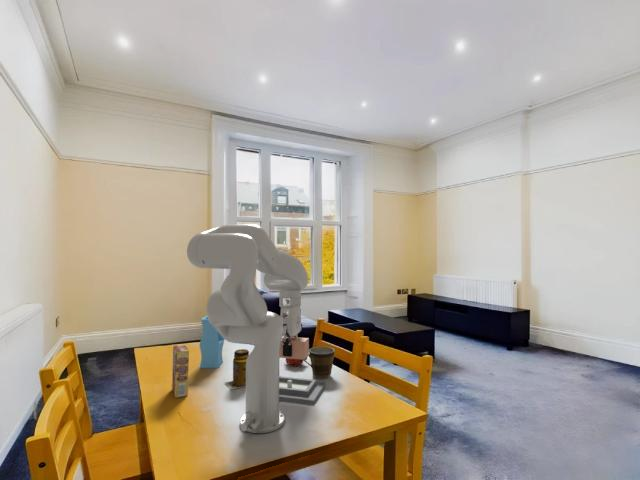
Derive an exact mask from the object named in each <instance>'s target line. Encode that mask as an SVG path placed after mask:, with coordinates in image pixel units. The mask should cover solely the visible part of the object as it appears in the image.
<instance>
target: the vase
mask: <svg viewBox="0 0 640 480" xmlns="http://www.w3.org/2000/svg"><path fill="white" fill-rule="evenodd" d="M200 321H201V326H202V327H201V328H202V335H201V339H200V341H199V350H200V355H201V356H200V357H201V358H200V359H201V360H200V364H199V369H218V368H220V367H221V365H223V363H224V361H223V347H224V342H225V339H224V338H223V337H222V336H221V335H220V334H219V332H218V331H217V330H216V329H215V328H214V327H213V326H212V324H211V323H210V321H209V319H208V317H207V315H205V316H204V317H202V318H200Z"/></svg>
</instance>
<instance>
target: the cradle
mask: <svg viewBox="0 0 640 480" xmlns="http://www.w3.org/2000/svg"><path fill="white" fill-rule="evenodd" d="M326 383H327V382H326V381H319V380H317V379H310V378H302V377H300V378H299V377H290V376H281V375H279V401H281V402H290V403H298V404H308V405H315V404H316V401H317V400H319V399H318V398H319V396H320V395H321V394H322V392H323V391H324V389H325V388H326Z"/></svg>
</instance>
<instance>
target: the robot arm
mask: <svg viewBox="0 0 640 480" xmlns="http://www.w3.org/2000/svg"><path fill="white" fill-rule="evenodd" d="M186 255H187V258H188V260H189V262H190V264H191V265H193V266H194V267H196V268H200V269H214V270H215V269H216V270H217V269H219V270H230V271H229V274H228V275H227V276H226V277H225V278H224V281H223V282H222V284H221V286H220V289H219V290H215V291H214V292H212V293H211V295H210V296H209V297H208V300H207V302H206V316H207V317H208V319H209V321H210V323H211V324H212V326H213V327H214V328H215V329H216V330H217V331H218V332H219V334H220V335H221V336H222V337H223V338H224V341H227V343H231V344H240V345H251V346H253V349H252V351H251V352H249V356H248V357H247V360H246V387H245V413H244V414H243V415H242V416H241V417H240V419H239V425H240V427H239V428H240V430H241V431H242V432H248V433H252V434H266V433H267V434H268V433H271V432H274V431H276V430H278V429H280V428H281V427H283V425H284V423H285V422H286V421H285V415H284V414H283V412H281V411H280V400H279V376H280V359H281V358H280V344H281V339H282V344H283V356H287V357H291V356H292V345H291V339H292V337H298V334H299V333H300V332H302V312H301V310H302V309H301V306H302V297H301V295H302V291H303V290H305V289H306V288H307V286H308V284H309V275H308V274H309V273H308V272H307V269H306V268H305V266H304V264H303V263H302V261H300V259H299V258H297V257H295V256H293V255H291V254H289V253H286V252H285V251H283V250H280V249H278V248H277V246H276V245H275V243H274V242H273V240H272V238H271V237H270V236H269V235H268V233H267V232H266V230H265V229H264V228H263V227H262V226H260V225H258V224H254V223H253V224H252V223H251V224H250V223H245V224H243V223H242V224H241V223H239V224H235V223H233V224H224V225H220V226H215V227H213V228H210V229H208V230H204V231H202V232H199V233H196V234H195V235H194V236H192V237H191V239H190V240H189V241H188V244H187V248H186ZM256 271H258V272H259V273H263V274H264V276H263V282H264V285H265V287H266V288H267V289H269V290H270V291H271V290H272V291H279V293H278V294H279V298H278V299H279V305H278V306H279V307H280V315H279V314H277V313H276V312H272V311H270V310H268V306H267V303H266V301H265V299H264V298H263V296H262V293H261V292H260V290H259V289H258V287H257V285H256V283H255V279H256V274H257V272H256ZM286 337H289V340H288V339H287V338H286Z"/></svg>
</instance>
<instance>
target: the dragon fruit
mask: <svg viewBox="0 0 640 480" xmlns="http://www.w3.org/2000/svg"><path fill="white" fill-rule="evenodd" d="M305 361H308V357H307V358H306V359H305ZM285 362H286V364H290V365H291V366H292V367H294V368H295V367H298V366H297V365H302V364H303V363H304V361H303V360H301V359H290V358H285Z"/></svg>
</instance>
